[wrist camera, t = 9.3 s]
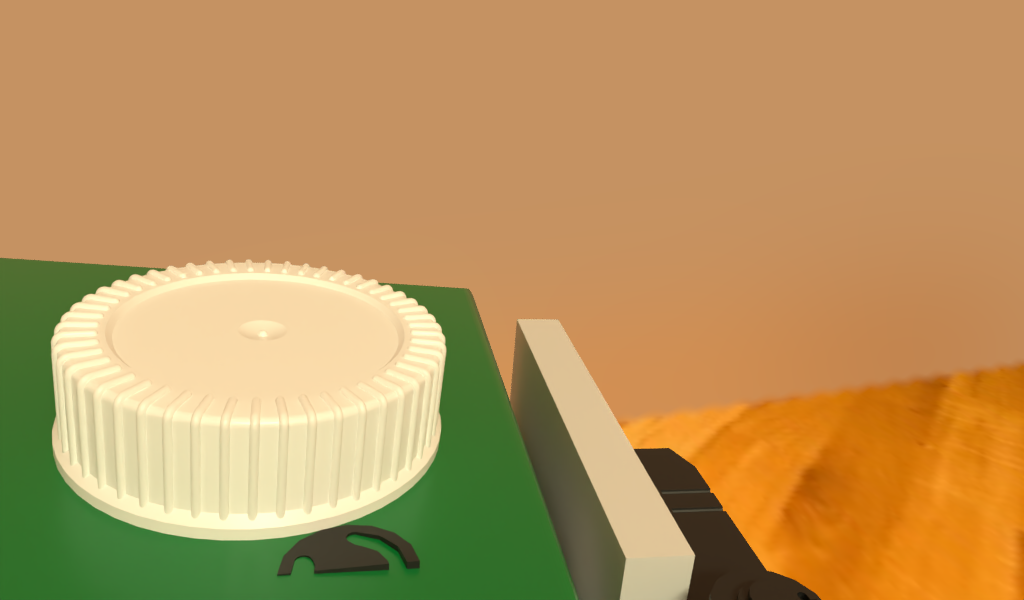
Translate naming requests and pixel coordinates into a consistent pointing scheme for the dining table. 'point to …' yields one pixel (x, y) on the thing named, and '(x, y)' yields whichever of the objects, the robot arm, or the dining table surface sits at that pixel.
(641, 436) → the dining table surface
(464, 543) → the milk carton
